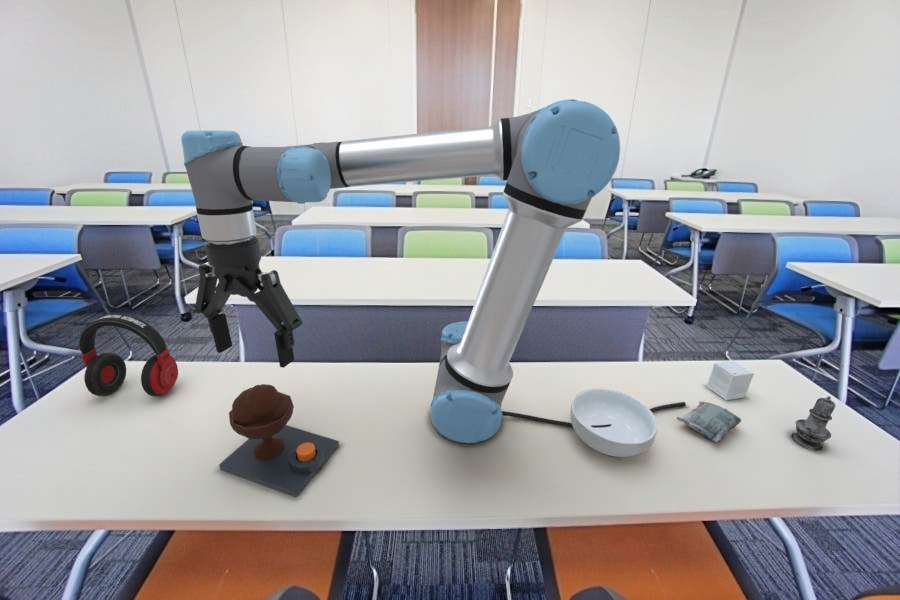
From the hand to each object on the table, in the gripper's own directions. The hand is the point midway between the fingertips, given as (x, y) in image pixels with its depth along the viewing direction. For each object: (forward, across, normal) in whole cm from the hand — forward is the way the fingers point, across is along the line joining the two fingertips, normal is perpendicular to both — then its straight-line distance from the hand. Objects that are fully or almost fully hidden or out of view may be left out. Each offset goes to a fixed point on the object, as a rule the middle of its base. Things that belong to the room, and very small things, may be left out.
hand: (255, 356), depth 70 cm
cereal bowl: (+23, -63, -27) cm, 72 cm away
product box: (+23, -92, -56) cm, 110 cm away
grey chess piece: (+23, -104, -41) cm, 114 cm away
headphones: (+22, +42, -4) cm, 48 cm away
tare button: (+19, -9, +1) cm, 21 cm away
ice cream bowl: (+20, 0, +1) cm, 21 cm away
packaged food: (+23, -84, -39) cm, 95 cm away
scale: (+22, -3, +1) cm, 22 cm away
